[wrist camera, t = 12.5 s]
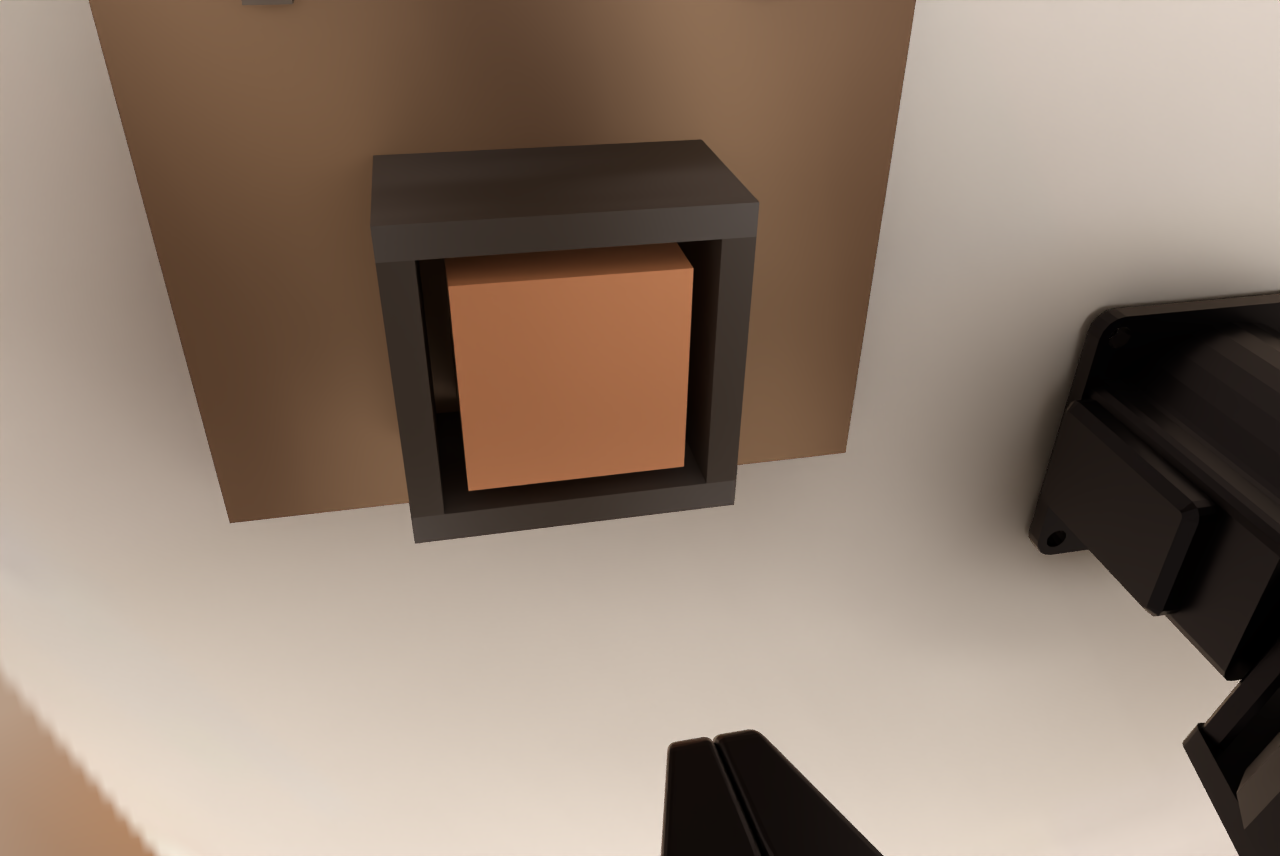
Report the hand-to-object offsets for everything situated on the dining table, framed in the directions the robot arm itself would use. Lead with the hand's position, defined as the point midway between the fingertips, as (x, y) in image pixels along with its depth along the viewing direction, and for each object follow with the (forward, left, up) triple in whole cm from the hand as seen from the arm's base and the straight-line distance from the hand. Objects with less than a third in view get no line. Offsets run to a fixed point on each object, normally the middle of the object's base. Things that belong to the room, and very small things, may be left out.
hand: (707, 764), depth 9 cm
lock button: (0, 0, -10) cm, 10 cm away
